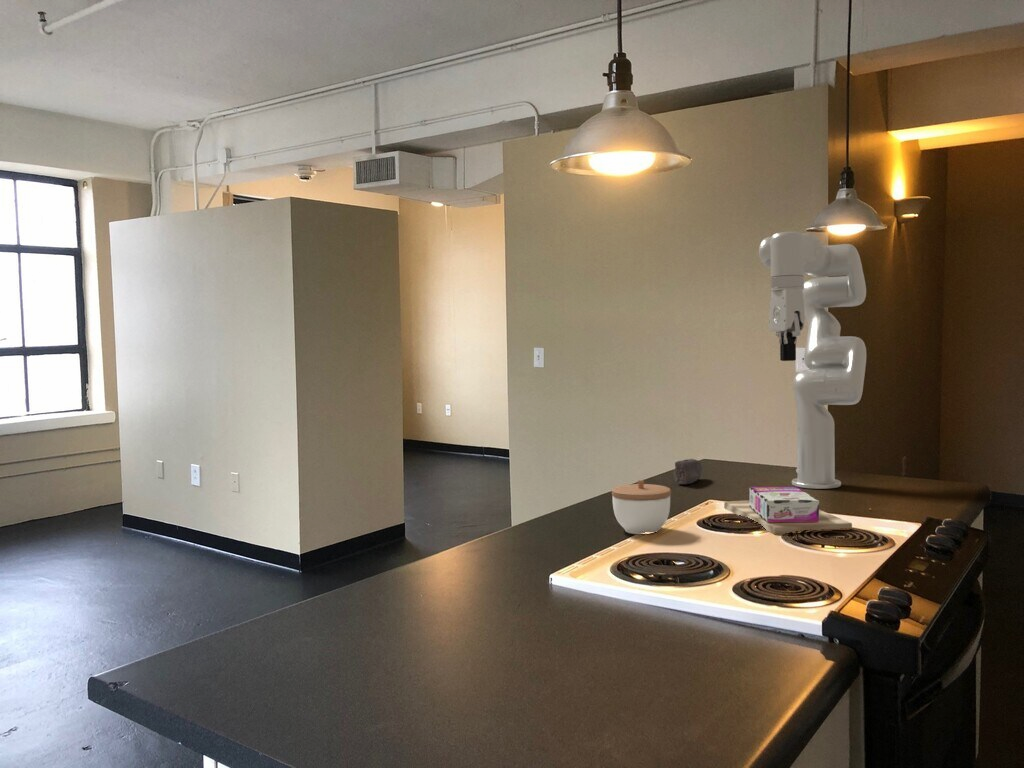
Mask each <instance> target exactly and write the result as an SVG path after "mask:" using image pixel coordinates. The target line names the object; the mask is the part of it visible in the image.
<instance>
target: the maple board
mask: <svg viewBox="0 0 1024 768" xmlns="http://www.w3.org/2000/svg"><path fill="white" fill-rule="evenodd" d="M723 503H724V504H723V505H724V507H723V508H724V509H725V510H727V511H730V512H731V513H733V514H735V515H736V516H739V515H741V516H745V517H748V518H750V519H752V520H754V521H756V522H758V523H759V524H761V525H762V526H763V527H764V528H765V529H766V530H765V529H764V530H765V531H767V532H768V533H771V534H772V535H778V536H779V535H786V534H785V533H789V532H793V531H800V530H810V529H811V530H821V529H840V528H852V529H853V523H852V522H850V521H848V520H845V519H843V518H841V517H838V516H835V515H833V514H830V513H828V512H826V511H823V510H821V509H819V522H766V521H765V520H764V519H763V518H762V517H761V516H760V515H759V514H757V513H756V512H755V511H754V510H753V509H752V508H751V507H750V506H749V500H733V501H732V500H731V501H724V502H723Z"/></svg>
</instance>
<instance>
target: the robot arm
mask: <svg viewBox="0 0 1024 768" xmlns="http://www.w3.org/2000/svg"><path fill="white" fill-rule="evenodd" d="M758 247H759V248H758V257H759V261H760V262H761V263H762V265H763V266H764V267H765V268H767V269H769V270H770V291H771V293H770V299H769V301H770V303H769V314H768V328H769V331H771V332H775V336H776V337H778V342H779V345H780V346H779V357H780V359H779V360H780V361H782V362H790V361H791V362H794V361H796V360H797V355H796V354H797V351H796V350H797V339H798V337H800V336H801V331H802V330H803V329H804V328H805V322H806V321H807V327H808V328H807V335H806V341H805V347H804V353H803V354H804V355H803V357H804V358H803V361H804V364H805V367H807V368H808V369H804V370H802V371H799V372H797V373H796V374H795V376H794V378H793V382H792V387H793V388H792V389H793V393H794V394H793V395H794V400H795V406H796V426H797V427H796V435H797V436H796V444H797V447H796V449H797V453H796V454H797V458H796V459H797V468H796V469H795V472H796V473H797V478H796V477H795V478H793V479H792V480H791V484H792V486H793V487H798V488H804V489H813V490H814V489H817V490H822V489H823V490H828V489H836V488H840V487H841V486H842V482H841V480H839V479H836V478H835V477H836V474H835V472H836V471H835V467H836V465H835V462H836V461H835V457H836V455H835V452H836V451H835V442H836V441H835V420H834V417H833V416H832V414H831V413H830V411H829V410H828V409H827V408H826V407H825V406H830V405H832V406H833V405H834V406H836V405H837V406H852V405H856V404H858V403H859V402H860V400H861V399H862V395H863V390H864V383H865V376H866V375H865V373H866V365H867V347H866V344H865V342H864V340H863V339H862V338H861V337H858V336H852V335H850V336H841V329H842V327H841V324H840V322H839V320H837V318H836V317H835V316H834V315H833V314H832V313H831V312H829V311H828V310H827V309H826V308H843V307H844V308H847V307H857V306H860V305H862V304H863V303H864V302H865V300H866V297H867V286H866V279H865V274H864V271H863V270H864V269H863V265H862V260H861V257H860V254H859V251H858V250H857V248H856V247H855V246H854V245H853V244H850V243H840V244H839V243H838V244H829V245H824V244H821V243H820V241H819V240H818V238H817V237H816V236H815V235H813V234H811V233H801V232H799V231H781V232H776V233H774V234H772V236H768V237H765V238H763V239H762V241H761V242H760V245H759V246H758ZM805 274H806V275H808V276H810V277H813V278H811V279H809V280H805V279H804V278H805V277H804V276H805ZM805 318H806V319H805ZM805 320H806V321H805Z"/></svg>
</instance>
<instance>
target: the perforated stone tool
mask: <svg viewBox="0 0 1024 768" xmlns="http://www.w3.org/2000/svg"><path fill="white" fill-rule="evenodd" d="M674 466H675V468H674V472H673V477H674V479H675V483H676V484H679V485H691V484H693V483H695V482H697V481H698V480H699V479H700V478H701V475H702V473H703V466H702V463H701V461H700V460H697V459H694V458H689V459H687V458H686V459H683V460H677V461H676V462H674Z"/></svg>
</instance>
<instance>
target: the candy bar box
mask: <svg viewBox="0 0 1024 768" xmlns="http://www.w3.org/2000/svg"><path fill="white" fill-rule="evenodd" d="M748 491H749V492H748V493H749V499H748V501H749V506H750V507H751V508H752V509H753V510H754V511H755V512H756V513H757V514H759V515H760V516H761V517H762V518H763V519H764V520H765V521H766V522H819V510H820V500H818V499H817V498H815V497H814V496H812V495H810V494H809V493H807V492H805V491H804V490H803V489H801V488H800V487H797V486H750V487H749V490H748Z"/></svg>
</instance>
